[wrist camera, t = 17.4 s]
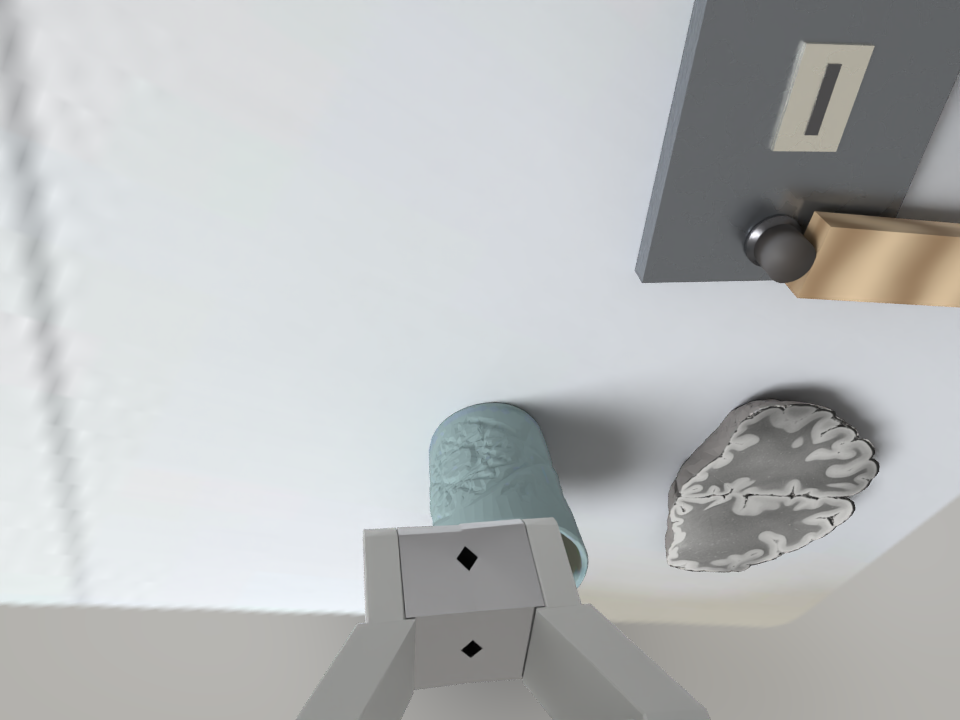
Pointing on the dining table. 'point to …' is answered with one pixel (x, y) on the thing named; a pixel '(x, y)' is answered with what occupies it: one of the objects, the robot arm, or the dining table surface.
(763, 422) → the brain section slice
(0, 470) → the dining table surface
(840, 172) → the gray base panel
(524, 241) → the dining table surface
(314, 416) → the dining table surface
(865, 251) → the swing bar
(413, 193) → the dining table surface
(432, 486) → the teal textured cup
